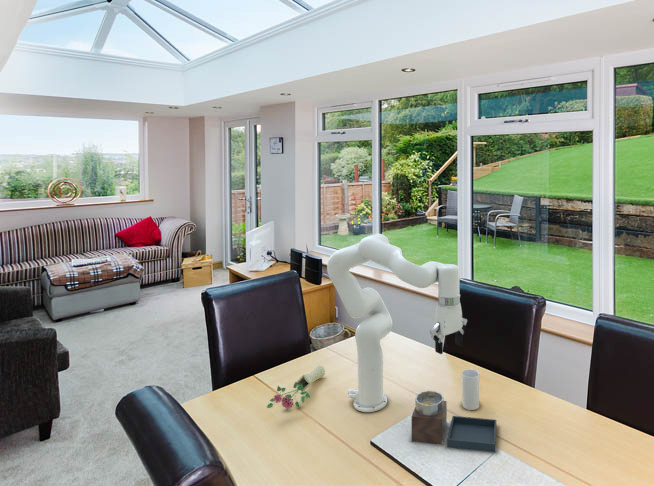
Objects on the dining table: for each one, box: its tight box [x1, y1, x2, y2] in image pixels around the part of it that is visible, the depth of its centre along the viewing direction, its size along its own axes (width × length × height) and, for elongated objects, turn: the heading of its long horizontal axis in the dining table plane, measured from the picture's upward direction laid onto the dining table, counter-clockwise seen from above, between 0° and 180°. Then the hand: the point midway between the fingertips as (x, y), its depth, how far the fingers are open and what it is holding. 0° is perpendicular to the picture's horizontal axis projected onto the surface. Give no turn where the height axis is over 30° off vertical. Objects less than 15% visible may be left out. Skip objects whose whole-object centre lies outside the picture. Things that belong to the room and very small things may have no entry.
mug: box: [461, 368, 480, 411], centre depth 161 cm, size 10×7×12 cm, turn 159°
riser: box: [411, 400, 448, 445], centre depth 143 cm, size 10×11×8 cm
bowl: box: [414, 390, 445, 416], centre depth 144 cm, size 9×9×4 cm
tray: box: [446, 415, 498, 453], centre depth 141 cm, size 15×13×2 cm
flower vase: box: [266, 365, 326, 411], centre depth 164 cm, size 12×12×35 cm
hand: (449, 348), depth 151 cm, fingers open, 9 cm apart
